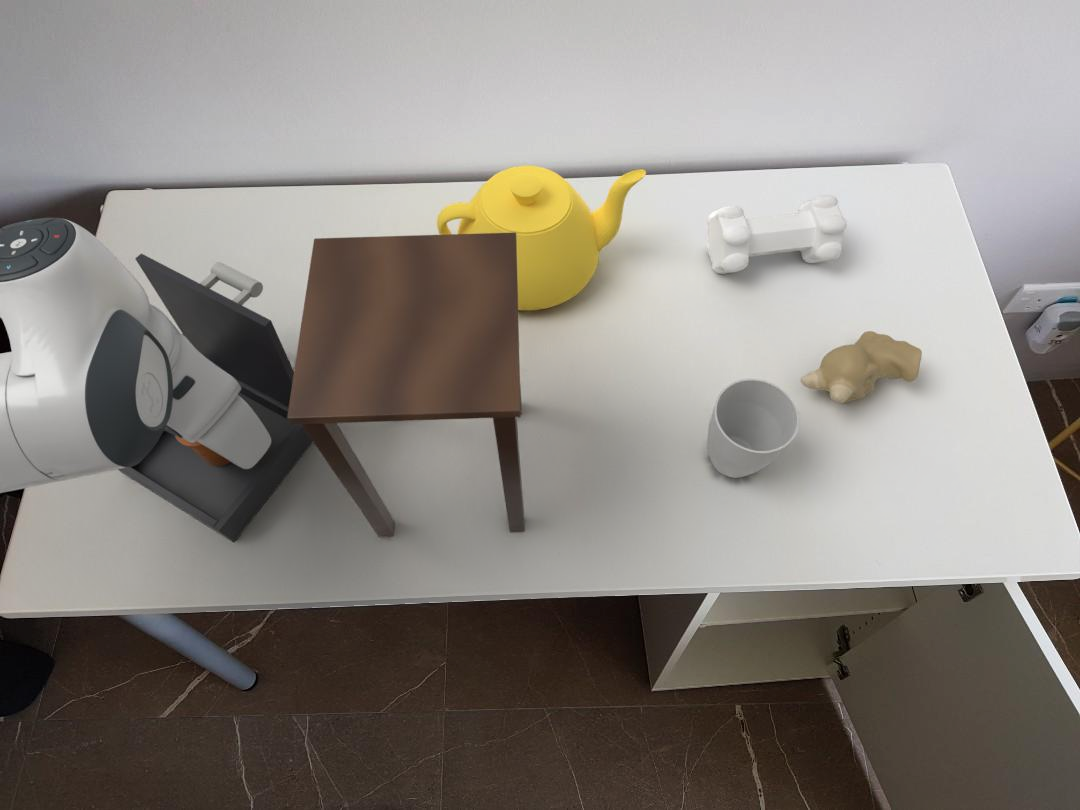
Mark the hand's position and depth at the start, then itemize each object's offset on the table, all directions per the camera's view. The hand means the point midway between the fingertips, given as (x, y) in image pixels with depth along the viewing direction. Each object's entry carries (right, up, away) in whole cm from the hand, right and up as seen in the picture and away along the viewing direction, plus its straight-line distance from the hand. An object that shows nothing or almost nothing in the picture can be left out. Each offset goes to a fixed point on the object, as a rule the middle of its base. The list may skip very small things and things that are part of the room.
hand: (205, 434), depth 73 cm
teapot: (+34, +21, +17) cm, 44 cm away
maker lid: (+4, +9, -3) cm, 10 cm away
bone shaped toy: (+64, +22, +17) cm, 69 cm away
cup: (+56, -3, +4) cm, 56 cm away
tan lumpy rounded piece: (+70, +5, +8) cm, 71 cm away
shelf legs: (+25, -4, +3) cm, 26 cm away
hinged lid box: (0, -2, +4) cm, 5 cm away
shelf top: (+25, +9, -21) cm, 34 cm away
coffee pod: (0, -2, +4) cm, 4 cm away
